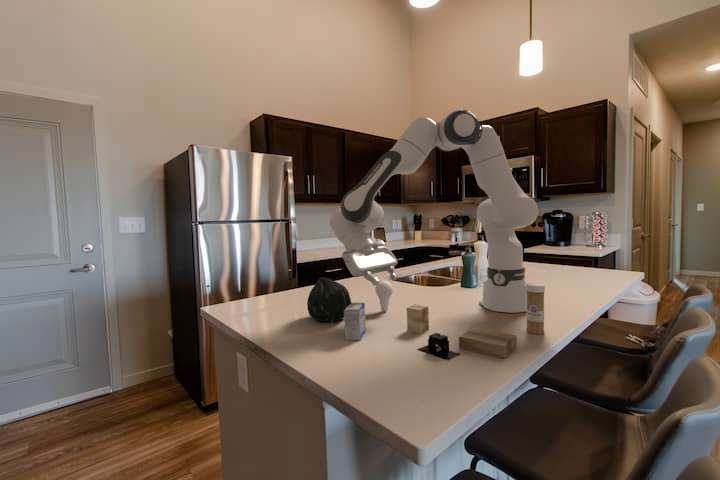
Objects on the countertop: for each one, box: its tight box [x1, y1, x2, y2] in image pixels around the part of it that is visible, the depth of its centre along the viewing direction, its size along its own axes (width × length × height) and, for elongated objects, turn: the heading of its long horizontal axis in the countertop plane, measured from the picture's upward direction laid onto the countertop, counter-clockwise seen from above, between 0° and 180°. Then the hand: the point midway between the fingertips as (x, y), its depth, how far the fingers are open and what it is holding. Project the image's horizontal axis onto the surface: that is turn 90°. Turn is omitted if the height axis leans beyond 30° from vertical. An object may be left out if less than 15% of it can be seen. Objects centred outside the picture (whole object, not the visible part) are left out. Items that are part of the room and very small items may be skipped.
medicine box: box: [343, 302, 367, 341], centre depth 99 cm, size 8×4×9 cm, turn 168°
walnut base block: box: [458, 326, 518, 360], centre depth 87 cm, size 9×11×3 cm
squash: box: [306, 277, 352, 323], centre depth 116 cm, size 14×15×15 cm
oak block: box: [406, 303, 430, 335], centre depth 102 cm, size 4×4×7 cm
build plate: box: [416, 332, 462, 362], centre depth 85 cm, size 12×7×5 cm, turn 40°
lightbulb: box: [374, 280, 394, 313], centre depth 122 cm, size 6×6×11 cm
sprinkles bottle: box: [525, 282, 546, 335], centre depth 97 cm, size 5×5×14 cm
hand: (386, 281), depth 108 cm, fingers open, 8 cm apart
